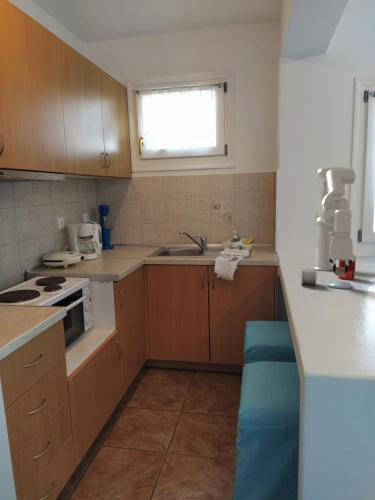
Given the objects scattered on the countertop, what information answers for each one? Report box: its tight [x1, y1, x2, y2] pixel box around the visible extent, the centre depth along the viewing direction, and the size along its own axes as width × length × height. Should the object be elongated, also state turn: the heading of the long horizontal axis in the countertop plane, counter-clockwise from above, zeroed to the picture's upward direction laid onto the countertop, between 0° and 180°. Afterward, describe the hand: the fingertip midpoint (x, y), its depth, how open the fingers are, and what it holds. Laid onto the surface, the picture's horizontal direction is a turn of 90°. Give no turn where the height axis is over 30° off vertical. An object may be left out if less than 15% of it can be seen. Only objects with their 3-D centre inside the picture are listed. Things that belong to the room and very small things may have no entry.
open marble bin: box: [300, 267, 318, 288], centre depth 181 cm, size 7×7×8 cm
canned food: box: [337, 259, 357, 281], centre depth 194 cm, size 8×8×11 cm
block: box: [334, 266, 345, 276], centre depth 177 cm, size 4×4×4 cm
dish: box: [326, 280, 352, 290], centre depth 178 cm, size 11×11×1 cm
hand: (339, 272), depth 177 cm, fingers closed on block, 4 cm apart
